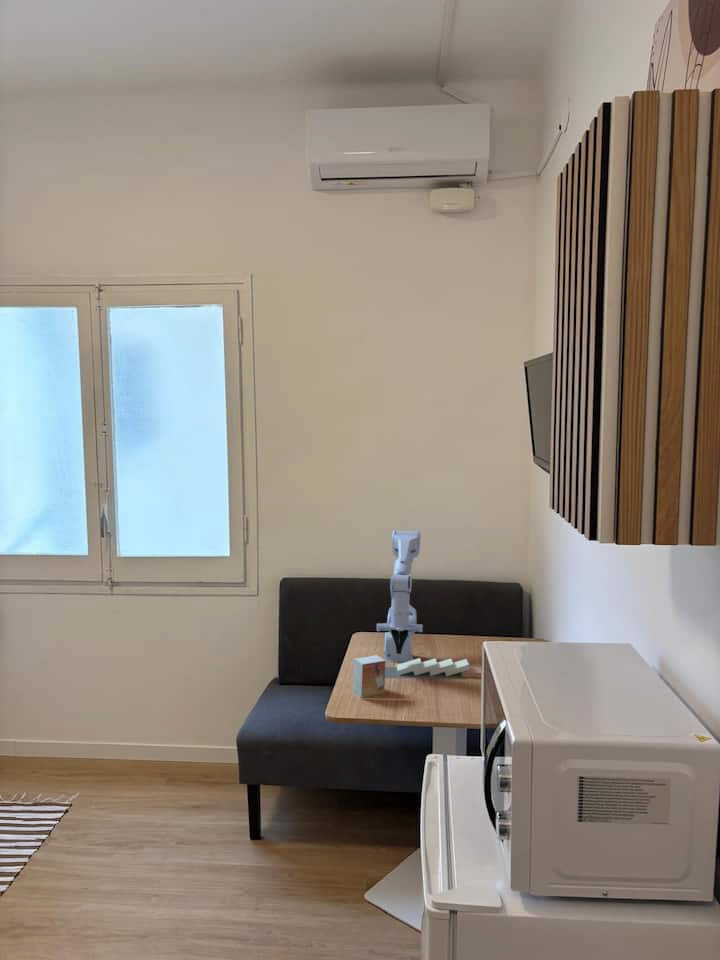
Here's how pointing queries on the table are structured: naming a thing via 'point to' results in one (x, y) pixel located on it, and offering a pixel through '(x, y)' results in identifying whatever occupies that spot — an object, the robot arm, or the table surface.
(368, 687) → the small box
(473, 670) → the terracotta domino
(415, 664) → the domino
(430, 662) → the domino
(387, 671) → the mat
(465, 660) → the domino
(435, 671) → the domino
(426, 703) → the table surface
